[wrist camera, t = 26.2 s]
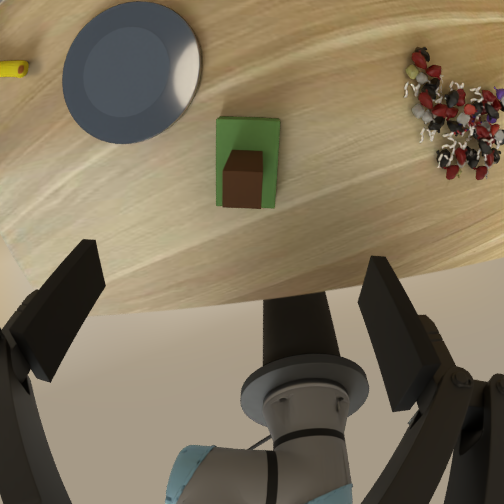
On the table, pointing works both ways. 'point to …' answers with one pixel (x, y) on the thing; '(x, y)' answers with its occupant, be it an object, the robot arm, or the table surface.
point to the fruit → (13, 68)
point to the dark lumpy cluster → (442, 111)
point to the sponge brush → (246, 161)
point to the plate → (131, 72)
